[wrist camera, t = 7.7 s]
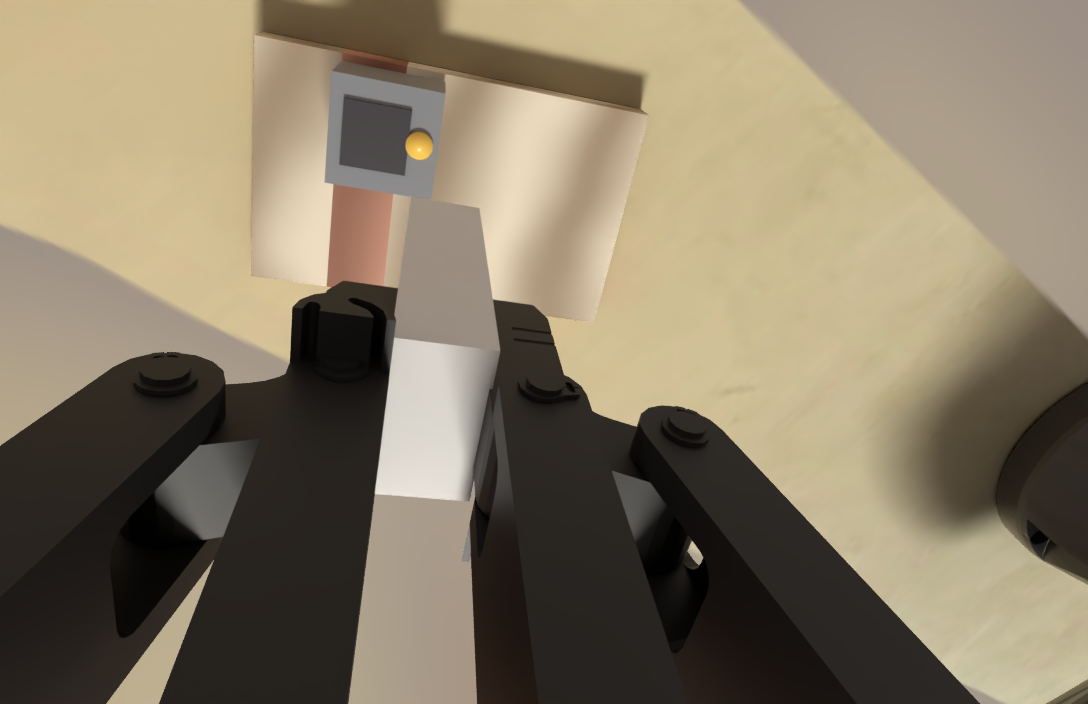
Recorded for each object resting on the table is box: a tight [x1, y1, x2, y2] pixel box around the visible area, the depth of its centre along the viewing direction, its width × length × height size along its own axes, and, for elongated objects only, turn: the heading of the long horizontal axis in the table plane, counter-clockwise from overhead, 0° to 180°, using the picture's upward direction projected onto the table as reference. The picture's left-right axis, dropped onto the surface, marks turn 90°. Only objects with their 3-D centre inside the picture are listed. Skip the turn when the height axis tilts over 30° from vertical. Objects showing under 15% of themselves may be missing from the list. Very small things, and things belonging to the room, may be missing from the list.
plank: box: [251, 32, 649, 323], centre depth 31 cm, size 16×10×2 cm, turn 78°
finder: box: [324, 61, 446, 200], centre depth 27 cm, size 4×4×3 cm
